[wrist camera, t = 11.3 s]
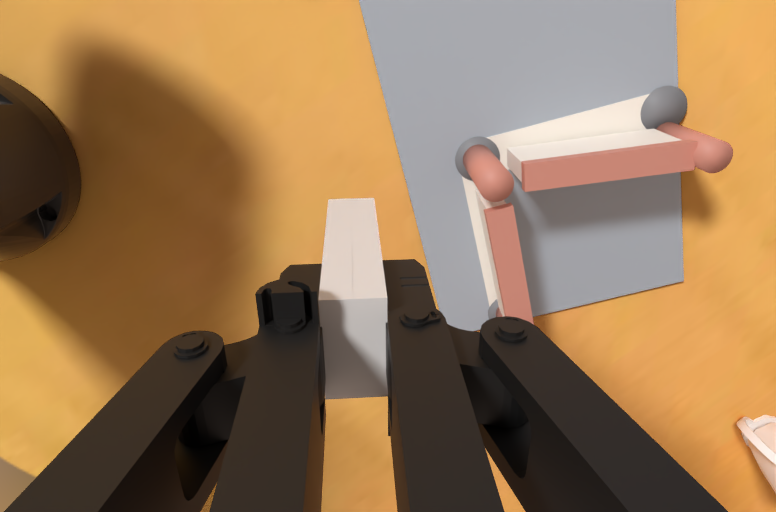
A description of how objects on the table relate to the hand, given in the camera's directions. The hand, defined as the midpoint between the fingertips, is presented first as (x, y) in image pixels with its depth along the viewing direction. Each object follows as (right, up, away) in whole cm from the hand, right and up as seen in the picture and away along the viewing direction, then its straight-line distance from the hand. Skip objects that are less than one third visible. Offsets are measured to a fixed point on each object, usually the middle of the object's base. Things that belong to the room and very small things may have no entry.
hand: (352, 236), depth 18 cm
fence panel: (+17, +8, +24) cm, 31 cm away
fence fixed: (+10, +1, +28) cm, 30 cm away
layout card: (+13, +9, +24) cm, 29 cm away
